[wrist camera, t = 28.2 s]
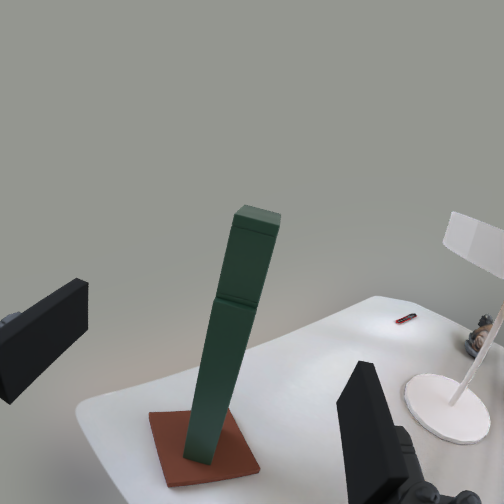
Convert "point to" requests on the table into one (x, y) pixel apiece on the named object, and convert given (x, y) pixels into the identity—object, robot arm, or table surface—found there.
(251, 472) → the cork pad
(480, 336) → the bison figurine
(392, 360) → the table surface
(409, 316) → the pen
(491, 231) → the white stemmed bowl
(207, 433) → the green block with loop
